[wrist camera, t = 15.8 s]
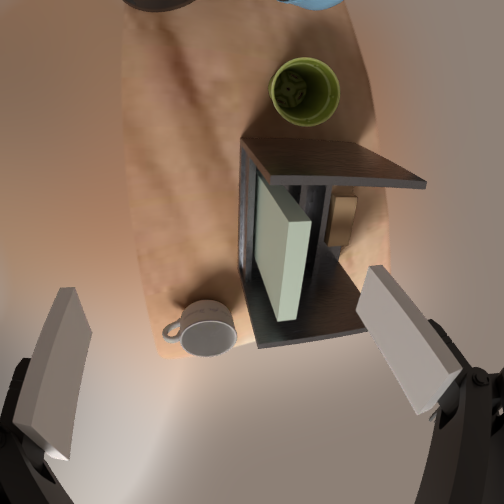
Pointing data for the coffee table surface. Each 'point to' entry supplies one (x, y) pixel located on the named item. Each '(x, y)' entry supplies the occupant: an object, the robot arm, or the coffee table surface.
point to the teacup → (204, 329)
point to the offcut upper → (340, 219)
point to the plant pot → (305, 91)
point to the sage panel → (280, 245)
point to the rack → (316, 208)
